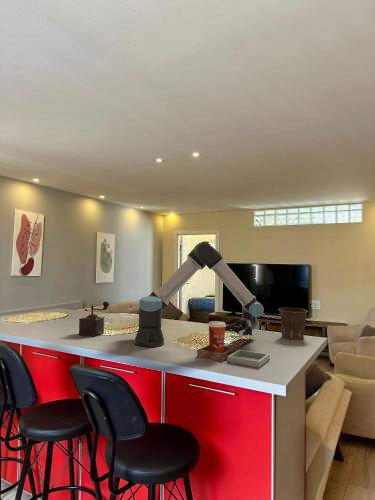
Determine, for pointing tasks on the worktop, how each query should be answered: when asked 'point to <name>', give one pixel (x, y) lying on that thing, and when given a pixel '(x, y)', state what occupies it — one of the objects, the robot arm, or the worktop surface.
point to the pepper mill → (92, 323)
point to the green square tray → (249, 358)
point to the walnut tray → (215, 353)
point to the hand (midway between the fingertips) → (226, 332)
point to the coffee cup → (216, 336)
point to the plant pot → (293, 322)
